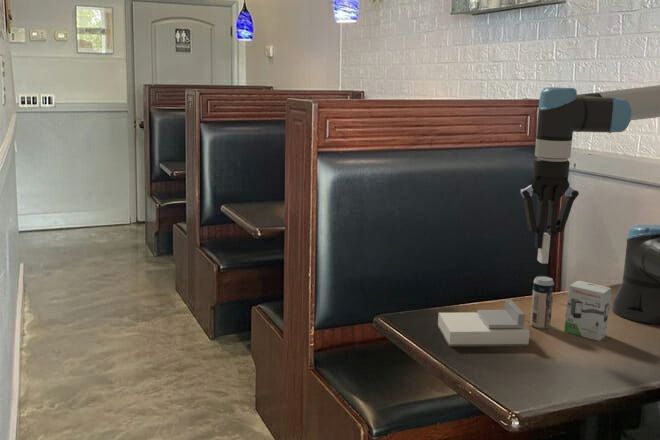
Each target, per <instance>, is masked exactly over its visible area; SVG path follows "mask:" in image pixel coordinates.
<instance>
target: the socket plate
mask: <svg viewBox="0 0 660 440" xmlns="http://www.w3.org/2000/svg"><path fill="white" fill-rule="evenodd" d="M437 317H438V319H437V328H438V329H439V331H440V333H441V334H442V336H443V338H444V340H445V342H446V344H447V345H448V347H529V342H530V334H531V333H530V330H529V329H528V327H526V326H525V324H524V328H488V327H487V325H486V324H485V323H484V321H483V320H482V319H481V317H480V316H479V315H478V313H477V312H475V311H474V312H438V316H437Z"/></svg>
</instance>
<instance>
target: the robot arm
mask: <svg viewBox="0 0 660 440" xmlns="http://www.w3.org/2000/svg"><path fill="white" fill-rule="evenodd" d="M537 111H538V112H537V127H536V129H537V130H536V138H535V148H534V156H535V157H536V158H535V159H534V160H533V170H532V179H531V181H530V184H529V185H528V186H527V187H525V188H519V193H520V196H521V198H522V200H523V205H524V210H525V211H524V212H525V218H526V224H527V230H529V231H530V232H531V233H535V238H534V239H535V241H534V246H535V248H536V249H537V257H536V260H537V261H538V262H539V263H540V264H549V255H550V249H553V248H554V245H555V237H556V236H557V234H558V233H563V232H564V230H565V228H566V225H567V221H568V218H569V216H570V214H571V210H572V206H573V204H574V201H575V200H576V199H577V197H578V196H579V194H580V192H579V191H578V190H577V189H576V190H575V189H573V188H572V187H571V186H570V182H569V175H570V173H569V172H570V165H571V161H570V160H568V159H570V158H571V155H572V144H573V136H574V134H573V133H574V132H575V133H582V132H583V133H606V134H607V133H608V134H612V133H622V132H624V131H625V130H627V128H629V125H630V123H631V121H635V120H636V121H637V120H647V119H656V118H660V84H659V85H649V86H641V87H631V88H624V89H623V88H621V89H614V90H608V91H598V92H597V91H596V92H589V93H583V94H578V91H577V89H576V88H574V87H557V86H556V87H553V86H551V87H550V86H549V87H547V86H546V87H545V88H543V89H542V90H541V92H540V97H539V100H538V106H537ZM533 193H534V195H535V196H536V198H537V200H536V201H537V208H536V215H535V209H534V203H533V198H532V196H533ZM563 196H564V198H563V200H562V204H561V206H560V209H559V205H560V202H561V200H560V199H561V198H562V197H563ZM547 208H548V209H547ZM547 211H548V212H547ZM558 211H559V212H558ZM546 217H547V221H546ZM545 227H546V229H545ZM545 231H546V232H545ZM624 256H625V257H624V258H625V259H624V267H623V275H622V276H623V277H622V282H621V284H620V285H619V288H618V290H617V292H616V294H615V296H614V298H613V299H612V305H611V306H612V307H611V310H612V312H613V313H615V314H616V315H618V316H620V317H622V318H625V319H628V320H631V321H635V322H639V323H645V324H657V325H659V324H660V225H658V224H635V225H632V226H631V227H630V228H629V230H628V233H627V238H626V249H625V255H624Z"/></svg>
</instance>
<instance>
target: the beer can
mask: <svg viewBox="0 0 660 440" xmlns="http://www.w3.org/2000/svg"><path fill="white" fill-rule="evenodd" d="M532 286H533V287H532V297H531V310H530V320H529V321H530V322H529V324H530V325H531V326H532V327H533V328H537V329H547V328H550V327H551V323H552V310H553V303H554V301H553V299H554V291H555V282H554V280H553V278H552V277H549V276H546V275H538V276H536V277H535V278H534V280H533V285H532Z"/></svg>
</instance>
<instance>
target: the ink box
mask: <svg viewBox="0 0 660 440" xmlns="http://www.w3.org/2000/svg"><path fill="white" fill-rule="evenodd" d="M612 289H613V288H611V287H609V286H604V285H601V284H600V285H599V284H597V283H596V284H595V283H592V282H587V281H583V280H576V281H574V282H572V283H571V284H570V285H569V288H568V295H567V296H568V297H567V305H566V313H565V319H564V320H565V322H564V330H563V331H564V332H565V333H568V334H572V335H577V336H579V337H583V338H587V339H591V340H595V341H598V342H599V341H602V339H603V338H604V337H606V336H607V329H608V321H609V314H610V306H611V299H612V298H611V297H612Z"/></svg>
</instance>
